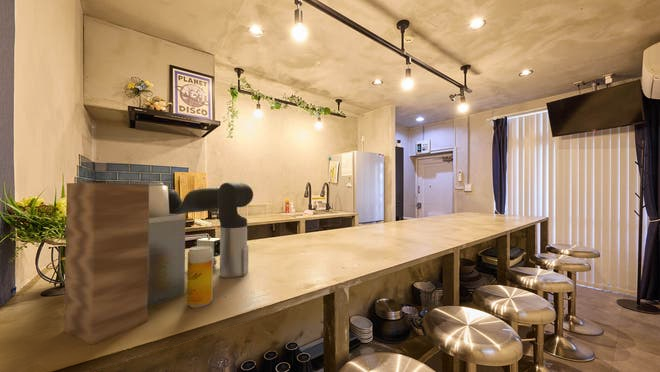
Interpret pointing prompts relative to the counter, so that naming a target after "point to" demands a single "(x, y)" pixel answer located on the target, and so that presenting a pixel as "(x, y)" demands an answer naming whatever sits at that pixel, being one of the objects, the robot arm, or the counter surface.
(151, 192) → the white plastic container
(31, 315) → the counter surface
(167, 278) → the tall grey upright block
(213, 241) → the pneumatic valve
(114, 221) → the tall wooden block
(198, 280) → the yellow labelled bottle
